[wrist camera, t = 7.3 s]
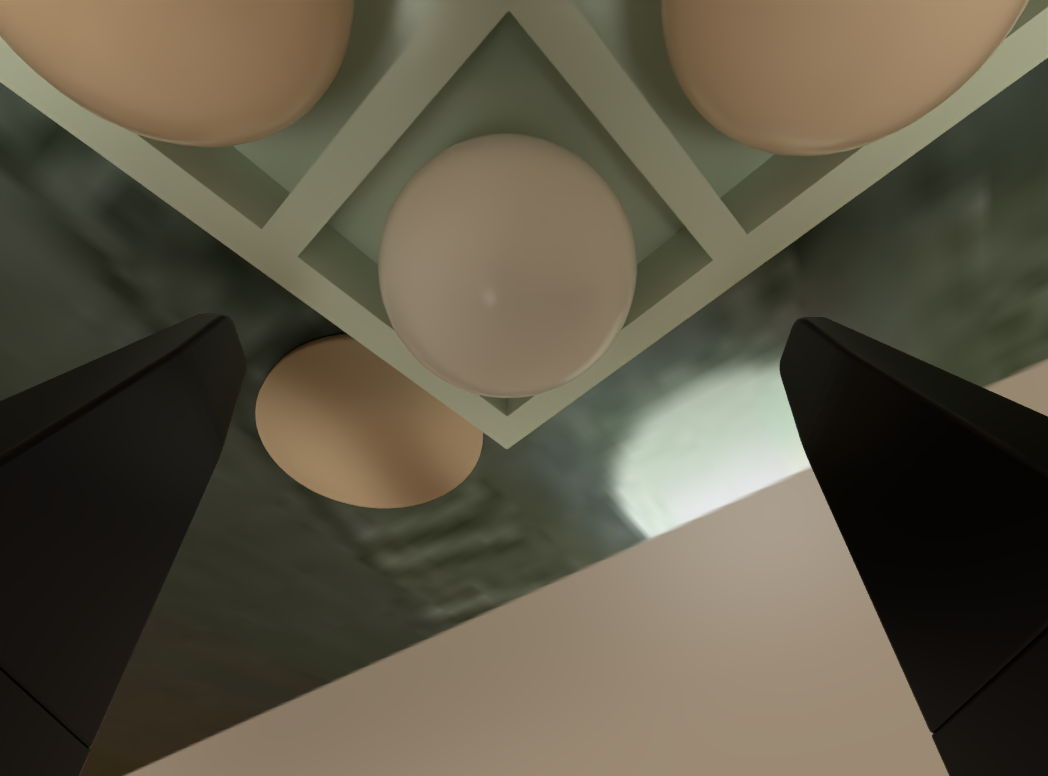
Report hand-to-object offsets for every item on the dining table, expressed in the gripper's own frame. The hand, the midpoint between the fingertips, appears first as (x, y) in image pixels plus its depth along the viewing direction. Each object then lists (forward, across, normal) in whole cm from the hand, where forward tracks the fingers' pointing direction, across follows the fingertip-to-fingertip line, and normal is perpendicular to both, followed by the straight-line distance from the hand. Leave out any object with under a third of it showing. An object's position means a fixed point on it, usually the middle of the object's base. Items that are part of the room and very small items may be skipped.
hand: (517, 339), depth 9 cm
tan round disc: (+6, +4, +7) cm, 10 cm away
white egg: (+5, 0, 0) cm, 5 cm away
